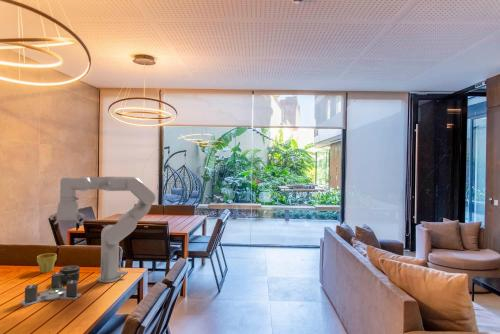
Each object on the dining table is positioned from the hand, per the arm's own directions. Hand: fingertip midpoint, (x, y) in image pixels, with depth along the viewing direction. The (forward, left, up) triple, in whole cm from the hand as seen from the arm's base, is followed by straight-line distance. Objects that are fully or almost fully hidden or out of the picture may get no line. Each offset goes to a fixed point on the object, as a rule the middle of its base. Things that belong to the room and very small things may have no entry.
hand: (67, 230), depth 177 cm
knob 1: (+13, +19, -29) cm, 37 cm away
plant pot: (+14, -30, -31) cm, 45 cm away
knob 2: (+4, +4, -29) cm, 30 cm away
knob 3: (-5, +19, -29) cm, 35 cm away
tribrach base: (+4, +12, -30) cm, 33 cm away
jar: (-1, -6, -31) cm, 31 cm away
